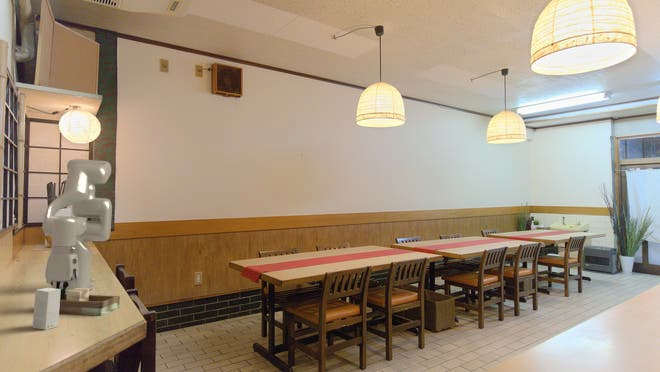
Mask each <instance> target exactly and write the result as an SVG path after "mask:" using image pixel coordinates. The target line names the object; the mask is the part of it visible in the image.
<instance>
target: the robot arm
mask: <svg viewBox="0 0 660 372" xmlns="http://www.w3.org/2000/svg"><path fill="white" fill-rule="evenodd" d="M66 170H67V174H66V175H67V176H66V181H65V184H64V189H63V193H62V194H61V195H59V196H57V197H56V198H54V200H52V201H51V202H50V204H49V205H47V208H46V210H45V212H44V213H45V214H44V217H43V220H42V228H41V229H42V232H43V234H45V235H47V236H52V237H51V238H52V239H51V245H50V246H51V247H50V253H49V255H48V259H47V262H46V266H45V272H44V273H45V274H44V275H45V277H44V278H45V280H46V281H45V282H46V284H48V285H51V286H52V288H54V289H61V293H60V300H63V299H65V294H66V293H67V291H68V290H72V289H75V288H85V289H89V291H90V290H92V289H93V287H94V286H93V285H92V284H91V283H94V282H95V281H96V278H95V277H92V278H91V277H90V274H91V265H92V264H91V263H92V262H91V261H92V249H91V247H90V246H89V245H88V243H87V242H106V241H108V240H109V239H110V235H111V229H112V218H113V217H112V214H113V205H112V202H111V200H110V199H109V198H104V197H96V196H95V195H96V185H103V184H106V183H107V181H108V180H109V178H110V176H111V174H112V165H111V163H110V162H109V161H106V160H96V159H94V160H93V159H83V158H74V159H70V160H69V161H68V162H67V163H66ZM70 206H71V212H72V215H73V216H63V215H62V216H61V215H59V216H58V215H57V213H58V212H59V211H60V210H62V209H64V208H65V209H66V208H68V207H70ZM85 218H86V219H87V218H88V219H99V220H86V219H85Z"/></svg>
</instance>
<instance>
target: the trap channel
mask: <svg viewBox="0 0 660 372" xmlns="http://www.w3.org/2000/svg"><path fill="white" fill-rule="evenodd" d="M66 298H67V293H65V299H63V300H60V307H59V315H60V314H61V315H82V316H99V317H100V316H101V317H102V316H105V315H106V314H108V313H111V312H113V311H116V310H119V309H120V301H121V300H120V298H121V297H120V296H119V295H118V296H117V295H102V294H101V295H98V294H89V301H72V300H66Z"/></svg>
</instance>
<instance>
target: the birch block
mask: <svg viewBox="0 0 660 372" xmlns="http://www.w3.org/2000/svg"><path fill="white" fill-rule="evenodd" d="M66 294H67V298H66V300H72V301H89V295H90V290H89V289H85V288H75V289H72V290H68V291H67V292H66Z"/></svg>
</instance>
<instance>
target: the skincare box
mask: <svg viewBox="0 0 660 372" xmlns="http://www.w3.org/2000/svg"><path fill="white" fill-rule="evenodd" d="M60 293H61V289H54V288H53V287H44V288H38V289H35V295H34V307H33V316H32V317H33V318H32V329H33V328H34V329H38V330H44V331H46V330H50V329H54V328H57V327H59V319H60V314H59V307H60Z"/></svg>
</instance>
